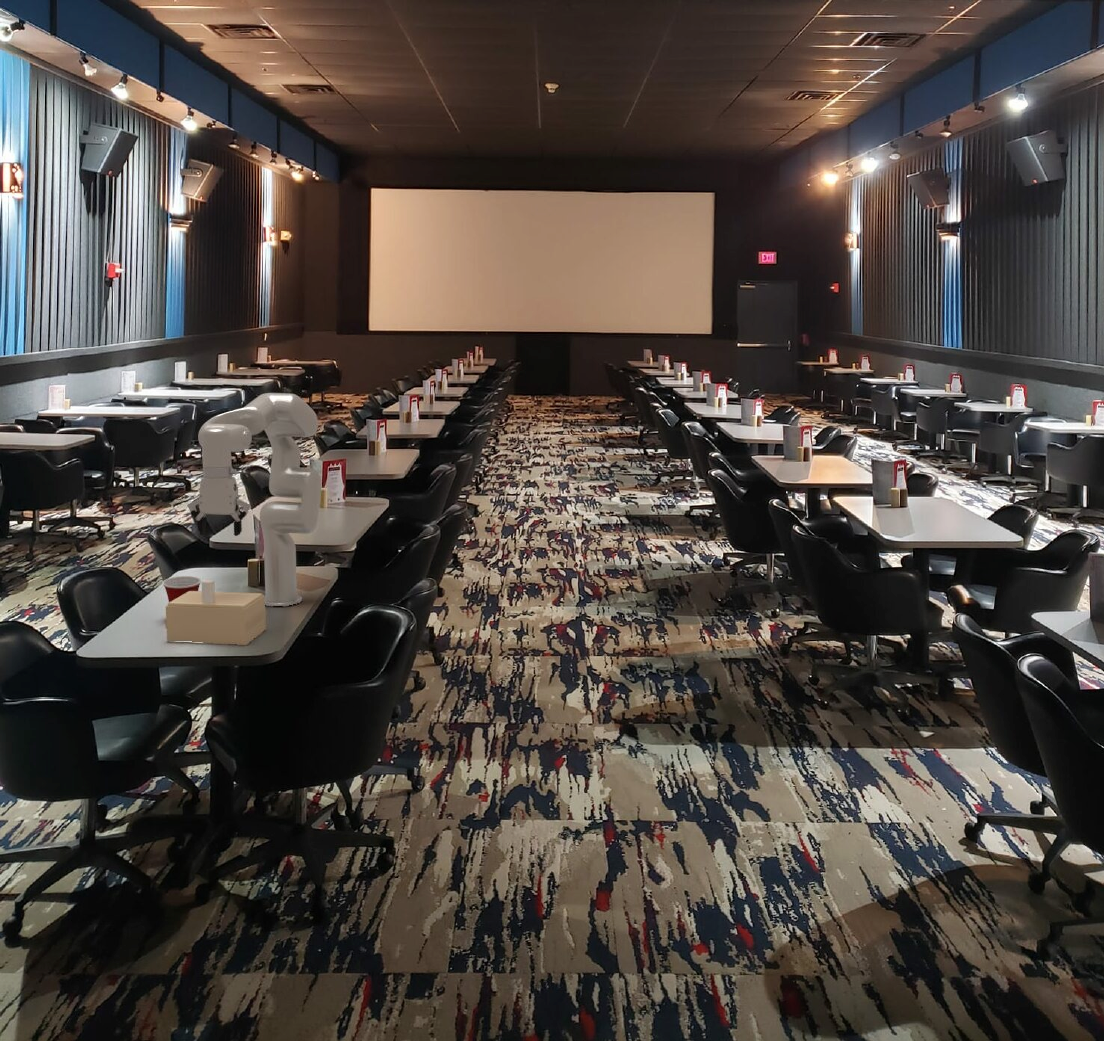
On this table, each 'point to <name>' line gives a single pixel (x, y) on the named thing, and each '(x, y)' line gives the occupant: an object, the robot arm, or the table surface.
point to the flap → (215, 598)
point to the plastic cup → (180, 586)
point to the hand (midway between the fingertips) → (220, 534)
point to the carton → (216, 623)
